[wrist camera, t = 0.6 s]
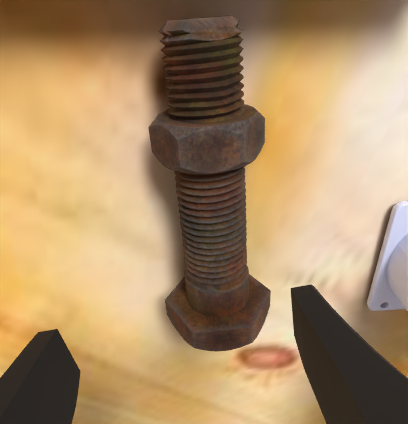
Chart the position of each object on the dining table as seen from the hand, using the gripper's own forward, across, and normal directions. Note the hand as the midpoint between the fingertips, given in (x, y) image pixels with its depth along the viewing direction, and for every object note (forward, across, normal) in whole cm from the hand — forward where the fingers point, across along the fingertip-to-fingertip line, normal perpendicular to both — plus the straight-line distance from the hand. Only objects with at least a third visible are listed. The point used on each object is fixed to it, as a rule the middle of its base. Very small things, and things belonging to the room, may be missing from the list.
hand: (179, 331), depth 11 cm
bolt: (+10, -2, 0) cm, 10 cm away
